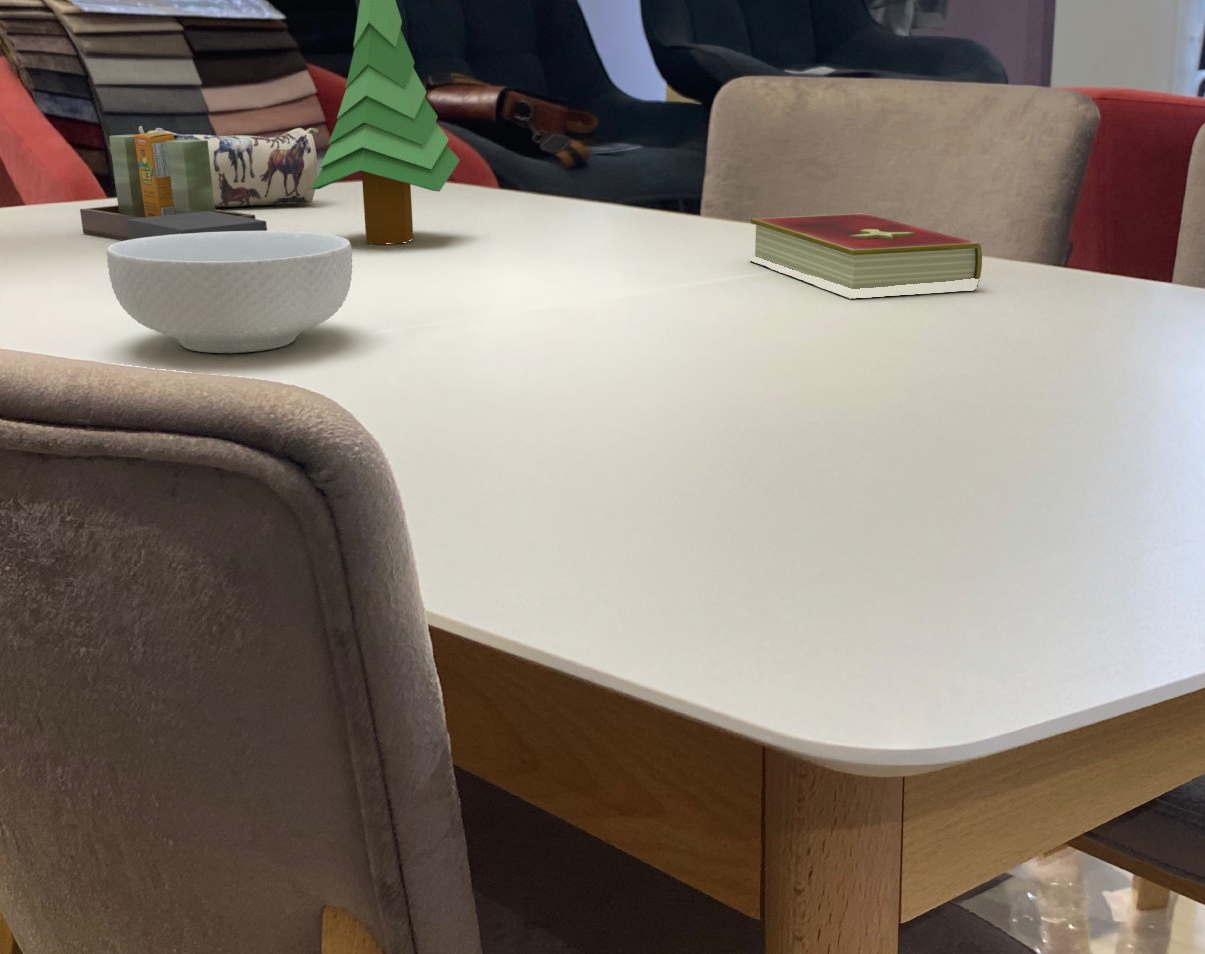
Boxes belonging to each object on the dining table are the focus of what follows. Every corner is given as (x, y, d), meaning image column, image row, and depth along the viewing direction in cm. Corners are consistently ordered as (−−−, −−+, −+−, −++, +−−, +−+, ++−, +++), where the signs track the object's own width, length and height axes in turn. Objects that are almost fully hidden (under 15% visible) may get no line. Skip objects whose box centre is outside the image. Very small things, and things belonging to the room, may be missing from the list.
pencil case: (142, 214, 172) (131, 128, 169) (142, 206, 180) (132, 124, 176) (327, 207, 178) (320, 124, 174) (320, 199, 186) (313, 119, 182)
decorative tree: (300, 250, 145) (273, -81, 133) (352, 230, 159) (332, -71, 148) (431, 253, 142) (414, -83, 131) (472, 232, 157) (460, -73, 145)
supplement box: (143, 231, 154) (131, 133, 150) (172, 228, 157) (160, 131, 153) (160, 234, 152) (148, 134, 148) (188, 231, 154) (177, 132, 151)
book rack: (181, 250, 146) (169, 145, 142) (83, 233, 158) (69, 136, 154) (257, 240, 152) (248, 139, 148) (157, 224, 164) (146, 131, 160)
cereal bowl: (393, 351, 101) (387, 247, 98) (151, 379, 93) (137, 268, 90) (312, 312, 114) (304, 220, 112) (95, 334, 107) (82, 236, 104)
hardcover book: (864, 254, 140) (866, 209, 138) (979, 290, 121) (984, 239, 120) (749, 261, 136) (750, 215, 135) (849, 299, 118) (852, 246, 116)
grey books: (197, 297, 121) (190, 231, 119) (125, 282, 128) (117, 219, 126) (290, 282, 127) (284, 219, 125) (216, 269, 134) (210, 209, 132)
